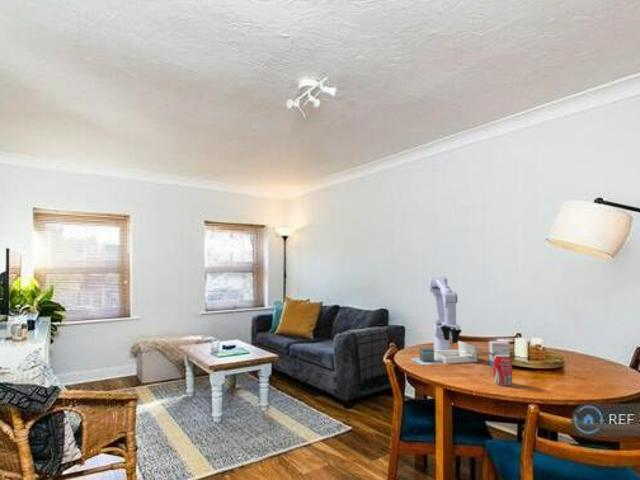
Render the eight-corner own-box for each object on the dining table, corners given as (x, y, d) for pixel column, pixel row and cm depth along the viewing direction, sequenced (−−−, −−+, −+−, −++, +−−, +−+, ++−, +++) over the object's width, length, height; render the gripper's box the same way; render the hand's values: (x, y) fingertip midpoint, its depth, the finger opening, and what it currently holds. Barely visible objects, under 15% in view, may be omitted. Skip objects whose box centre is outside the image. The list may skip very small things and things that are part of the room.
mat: (410, 359, 207) (410, 358, 207) (429, 358, 210) (429, 357, 210) (422, 365, 194) (422, 364, 194) (442, 364, 197) (442, 363, 197)
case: (430, 357, 211) (429, 342, 211) (459, 355, 215) (459, 340, 216) (447, 365, 194) (447, 349, 195) (479, 363, 199) (479, 347, 199)
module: (419, 360, 203) (419, 348, 204) (430, 359, 205) (430, 347, 205) (423, 362, 199) (423, 350, 200) (434, 361, 201) (434, 349, 201)
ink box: (492, 367, 192) (491, 342, 192) (488, 364, 197) (488, 340, 197) (510, 367, 191) (509, 343, 192) (506, 365, 196) (506, 341, 197)
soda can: (496, 380, 170) (495, 352, 171) (514, 383, 166) (513, 354, 166) (491, 384, 165) (491, 355, 166) (509, 387, 160) (509, 357, 161)
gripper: (436, 313, 214) (436, 339, 213) (451, 317, 200) (451, 344, 199) (447, 313, 216) (448, 338, 215) (463, 317, 202) (464, 344, 201)
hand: (450, 341), depth 207 cm, fingers open, 7 cm apart
